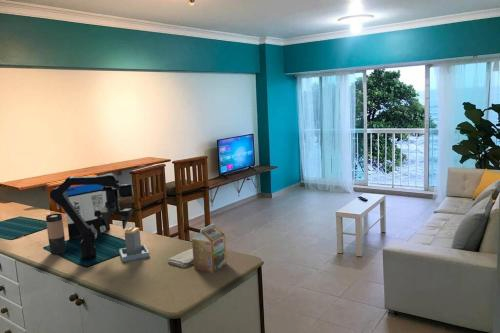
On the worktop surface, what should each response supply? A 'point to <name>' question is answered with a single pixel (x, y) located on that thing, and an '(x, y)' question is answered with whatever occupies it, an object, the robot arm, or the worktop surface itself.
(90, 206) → the protein powder
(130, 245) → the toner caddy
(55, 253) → the travel mug
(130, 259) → the tray
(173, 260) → the washcloth
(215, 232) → the milk carton
